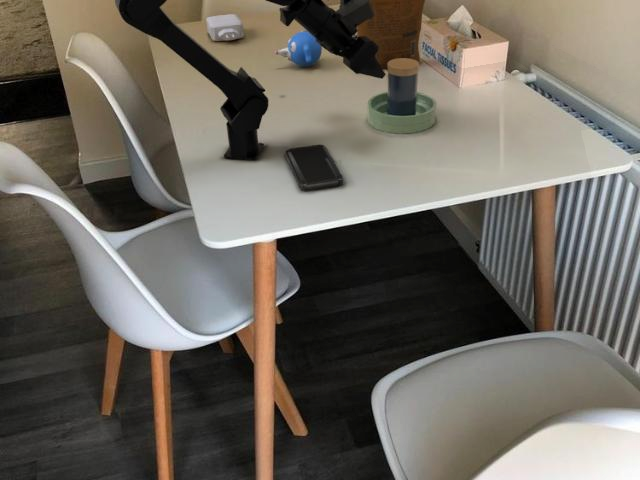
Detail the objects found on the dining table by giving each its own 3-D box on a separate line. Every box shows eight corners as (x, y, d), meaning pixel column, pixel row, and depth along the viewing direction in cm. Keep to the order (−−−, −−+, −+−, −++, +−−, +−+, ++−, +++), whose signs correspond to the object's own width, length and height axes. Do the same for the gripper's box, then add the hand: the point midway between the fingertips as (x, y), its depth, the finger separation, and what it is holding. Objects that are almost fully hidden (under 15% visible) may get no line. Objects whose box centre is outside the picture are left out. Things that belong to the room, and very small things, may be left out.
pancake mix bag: (431, 66, 167) (438, -54, 152) (357, 74, 164) (356, -48, 149) (422, 58, 173) (428, -59, 157) (350, 65, 170) (349, -53, 154)
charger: (215, 48, 185) (207, 33, 197) (248, 44, 187) (238, 29, 199) (213, 31, 182) (205, 16, 194) (246, 27, 184) (237, 13, 196)
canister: (414, 126, 137) (417, 69, 130) (384, 124, 138) (385, 68, 131) (417, 114, 142) (420, 58, 135) (388, 112, 143) (389, 57, 136)
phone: (301, 186, 116) (284, 149, 129) (301, 191, 117) (284, 154, 129) (344, 179, 118) (324, 143, 130) (344, 185, 118) (324, 148, 131)
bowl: (432, 138, 133) (433, 118, 131) (362, 134, 136) (362, 114, 134) (437, 110, 145) (438, 92, 142) (372, 107, 147) (373, 89, 145)
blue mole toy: (271, 61, 174) (268, 29, 170) (315, 56, 177) (314, 24, 172) (281, 77, 165) (279, 43, 160) (327, 71, 167) (326, 37, 162)
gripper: (368, -5, 113) (423, 49, 123) (328, -27, 128) (380, 23, 137) (326, 48, 116) (383, 97, 125) (292, 20, 130) (345, 66, 139)
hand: (373, 69), depth 132 cm, fingers open, 9 cm apart
